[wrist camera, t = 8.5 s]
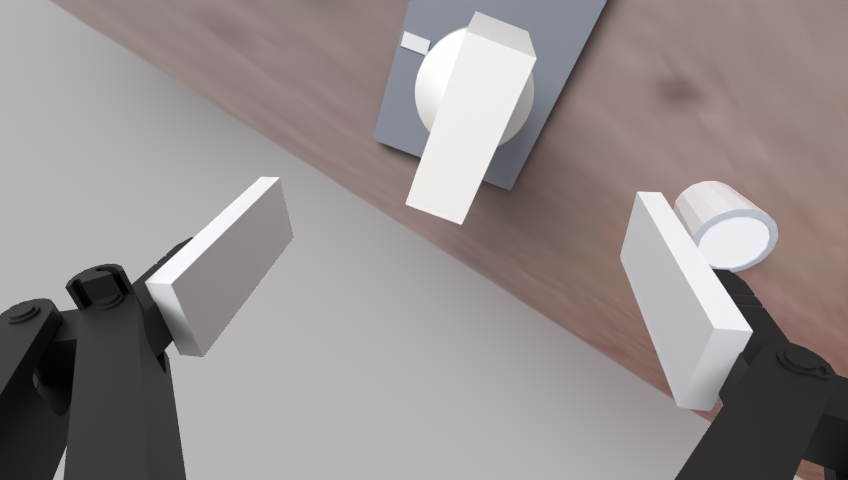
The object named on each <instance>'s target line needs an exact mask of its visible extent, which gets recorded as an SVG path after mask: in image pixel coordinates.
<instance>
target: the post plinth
mask: <svg viewBox="0 0 848 480" xmlns="http://www.w3.org/2000/svg"><path fill="white" fill-rule="evenodd" d="M606 1H607V0H410V1H409V5H408V8H407V12H406V16H405V19H404V23H403V27H402V31H401V34H400V38H399V42H398V45H397V49H396V53H395V57H394V60H393V64H392V68H391V71H390V75H389V79H388V82H387V86H386V90H385V94H384V97H383V101H382V105H381V108H380V112H379V116H378V120H377V123H376V127H375V131H374V134H373V138H372V139H373V140H375V141H378V142H381V143H383V144H386V145H389V146H391V147H394V148H397V149H399V150H402V151H405V152H407V153H410V154H413V155H415V156H418V157H421V158H422V155H423V152H424V150H425V147H426V144H427V141H428V138H429V135H430V132H429V131H428V129H427V128H426V127H425V125H424V124H423V122H422V120H421V118H420V116H419V113H418V110H417V106H416V101H415V84H416V79H417V75H418V72H419V69H420V67H421V65H422V63H423V61H424V59H425V58H426V56H427V55H428V54H429V52H430V51H431V50H432V48H433V47H434V46H435V45H436V44H437V43H438V41H439V40H440V39H442V38H443V37H444V36H445V35H447V34H448V33H450V32H451V31H453V30H456V29H458V28H460V27H464V26H467V25H469V23H470V22H471V20H472V18H473V16H474V14H475V12H476V11H477V12H480V13H482V14H485V15H487V16H490V17H492V18H495V19H497V20H500V21H503V22H505V23H508V24H510V25H513V26H515V27H518V28H521V29H523V30H526V31H528V33H529V36H530V39H531V42H532V45H533V48H534V51H535V55H536V58H537V59H536V61H535V63H534V65H533V68H532V70H531V71H532V75H533V81H534V99H533V104H532V108H531V111H530V113H529V116H528V118H527V120H526V121H525V123H524V125H523V126H522V127H521V129H520V130H519V131H518V132H517V133H516V134H515V135H514V136H513V137H512V138H511V139H509V140H508V141H507V142H505V143H503V144H502V145H500V146H498V147H497V148H496V150H495V152H494V154H493V156H492V159H491V161H490V163H489V165H488V168H487V170H486V172H485V174H484V176H483V179H482V181H485V182H488V183H490V184H493V185H496V186H498V187H501V188H504V189H506V190H509V191H511V189H512V187H513V185H514V183H515V181H516V179H517V177H518V175H519V173H520V171H521V169H522V167H523V165H524V163H525V161H526V159H527V157H528V155H529V153H530V151H531V149H532V147H533V145H534V143H535V141H536V139H537V137H538V136H539V134H540V132H541V130H542V128H543V126H544V124H545V122H546V120H547V118H548V116H549V114H550V112H551V110H552V108H553V106H554V104H555V102H556V100H557V98H558V96H559V94H560V92H561V90H562V88H563V86H564V84H565V82H566V80H567V78H568V76H569V74H570V72H571V70H572V68H573V66H574V64H575V62H576V60H577V58H578V56H579V55H580V53H581V51H582V49H583V47H584V45H585V43H586V41H587V39H588V37H589V35H590V33H591V31H592V29H593V27H594V25H595V23H596V21H597V19H598V17H599V15H600V13H601V11H602V9H603V7H604V5H605V3H606Z"/></svg>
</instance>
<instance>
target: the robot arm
mask: <svg viewBox="0 0 848 480" xmlns="http://www.w3.org/2000/svg"><path fill="white" fill-rule="evenodd" d="M292 238H293V233H292V229H291V225H290V220H289V216H288V211H287V207H286V203H285V199H284V194H283V190H282V185H281V181H280V177H261V178H259V179H258V180H257V181H256V182H255V183H254V184H253V185H252V186H251V187H249V188H248V189H247V190H246V191H245V192H244V193H243V194H242V195H241V196H240V197H239V198H237V199H236V200H235V201H234V202H233V203H232V204H231V205H230V206H229V207H227V208H226V209H225V210H224V211H223V212H222V213H221V214H220V215H219V216H217V217H216V218H215V219H214V220H213V221H212V222H211V223H210V224H209V225H207V226H206V227H205V228H204V229H203V230H202V231H201V232H200V233H199V234H197V235H196V236H195V237H191V238H189V239H187V240H186V241H184V242H182V243H180V244H178V245H176V246H175V247H174V248H173V249H172V250H171V251H169V252H168V253H167V254H166V257H165V256H164V257H163V258H162V259H160V260H159V261H158V262H157V264H155V265H154V266H152V267H151V268H150V269H149V270H148V271H147V272H146V273H145V274H143V275H142V276H141V277H140V278H139V279H138V280H137V281H135V282H134V283H133V284H132V285H131V283H130V281H129V279H128V277H127V275H126V273H125V271H124V269H123V268H122V266H120V265H117V264H104V265H99V266H95V267H92V268H90V269H87V270H84V271H83V272H81V273H79V274H77V275H75V276H74V277H73V278H72V279H71V280H69V282H68V283H67V285H66V289H67V291H68V292H69V294H70V296H71V297H72V299H73V300H74V302H75V304H76V305H77V307H78V309H75V310H68V311H60V312H59V311H58V309H57V308H56V306H55V304H54V303H53V302H52V301H51V300H50V299H45V298H43V299H33V300H30V301H25V302H21V303H19V304H18V305H17V304H16V305H14V306H12V307H11V308H10V309H8V310H6V311H5V312H3V313H2V314H1V315H0V480H53V477H54V475H55V473H56V470H57V468H58V465H59V463H60V460H61V458H62V455H63V453H64V450H65V448H66V446H67V450H66V460H65V471H64V480H186V475H185V468H184V461H183V455H182V447H181V440H180V433H179V426H178V419H177V412H176V405H175V398H174V391H173V384H172V378H171V370H170V363H169V358H168V356H167V354H166V352H165V349H166V347H168V345H169V344H170V343H171V342H172V341H174V343H175V346H176V347H177V350H178V352H179V354H180V355H189V356H198V357H204V355H205V354H206V353H207V351H208V350H209V349H210V347H211V346H212V345H213V343H214V342H215V341H216V339H217V338H218V337H219V335H220V334H221V332H222V331H223V330H224V329H225V327H226V326H227V325H228V324H229V322H230V321H231V319H232V318H233V317H234V316H235V314H236V313H237V312H238V310H239V309H240V308H241V306H242V305H243V304H244V302H245V301H246V300H247V298H248V297H249V296H250V294H251V293H252V292H253V290H254V289H255V288H256V286H257V285H258V284H259V282H260V281H261V279H262V278H263V277H264V276H265V274H266V273H267V271H268V270H269V269H270V268H271V266H272V265H273V264H274V262H275V261H276V260H277V258H278V257H279V256H280V254H281V253H282V252H283V250H284V249H285V248H286V246H287V245H288V244H289V243H290V241H291V240H292ZM620 258H621V261H622V264H623V266H624V269H625V271H626V274H627V277H628V279H629V282H630V284H631V287H632V290H633V292H634V295H635V297H636V300H637V303H638V305H639V308H640V310H641V313H642V316H643V318H644V321H645V323H646V326H647V329H648V331H649V334H650V336H651V339H652V342H653V344H654V347H655V349H656V352H657V355H658V357H659V360H660V362H661V365H662V367H663V370H664V373H665V375H666V378H667V380H668V383H669V386H670V388H671V391H672V393H673V396H674V399H675V401H676V404H677V406H678V408H685V409H694V410H703V411H711V410H712V408H713V406H714V405H715V403H716V401H717V399H718V397H719V396H720V398H721V400H722V402H723V404H724V406H723V407H722V409H721V410H720V412H719V413H718V415H717V416H716V418H715V419H714V421H713V422H712V424H711V425H710V427H709V428H708V430H707V431H706V433H705V434H704V436H703V437H702V439H701V440H700V442H699V443H698V445H697V446H696V448H695V450H694V451H693V453H692V454H691V456H690V457H689V459H688V460H687V462H686V463H685V465H684V466H683V468H682V469H681V471H680V472H679V474H678V475H677V477H676V478H675V480H793V478H794V476H795V474H796V471H797V469H798V467H799V465H800V462H801V460H802V459H804V460H807V461H810V462H812V463H815V464H818V465H821V466H823V467H824V475H825V480H848V378H845V377H842V376H839V375H836V373H835V372H834V370H833V369H832V367H831V366H830V364H829V363H827V362H826V361H825V360H824V359H823V358H822V357H820V356H819V355H817V354H816V353H814V352H812V351H810V350H808V349H807V348H804V347H801V346H799V345H796V344H793V343H790V342H789V340H788V339H787V338H786V336H785V335H784V334H783V332H782V331H781V330H780V328H779V327H778V326H777V324H776V323H775V322H774V320H773V319H772V317H771V316H770V315H769V313H768V312H767V311H766V309H765V308H762V304H761V303H760V301H759V300H758V299H757V297H754V293H753V292H752V291H751V289H750V288H749V286H748V285H747V284H746V282H745V281H743V280H742V279H741V278H739V277H738V276H736V275H735V274H734V273H732V272H731V271H730V270H724V269H711V267H710V266H709V264H708V263H707V261H706V260H705V258H704V257H703V255H702V254H701V252H700V251H699V249H698V248H697V246H696V245H695V243H694V242H693V240H692V239H691V237H690V236H689V234H688V233H687V231H686V230H685V228H684V227H683V225H682V224H681V222H680V221H679V219H678V218H677V216H676V215H675V213H674V212H673V210H672V209H671V207H670V206H669V204H668V202H667V201H666V199H665V198H664V196H663V195H662V193H660V192H637V194H636V198H635V202H634V206H633V209H632V213H631V217H630V221H629V224H628V228H627V232H626V236H625V240H624V243H623V247H622V251H621V255H620Z"/></svg>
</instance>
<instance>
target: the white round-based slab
mask: <svg viewBox="0 0 848 480" xmlns="http://www.w3.org/2000/svg"><path fill="white" fill-rule="evenodd" d="M536 59H537V58H536V55H535V51H534V48H533V45H532V42H531V39H530V36H529V33H528V31H526V30H523V29H521V28H518V27H515V26H513V25H510V24H508V23H505V22H503V21H500V20H497V19H495V18H492V17H490V16H487V15H485V14H482V13H480V12H477V11H476V12H475V14H474V16H473V18H472V20H471V22H470V23H469V25H467V26H464V27H460V28H458V29H456V30H453V31H451V32H450V33H448V34H447V35H445V36H444V37H443V38H442V39H440V40H439V41H438V43H437V44H436V45H435V46H434V47H433V48H432V50H431V51H430V52H429V54H428V55H427V56H426V58H425V59H424V61H423V63H422V65H421V67H420V69H419V72H418V75H417V79H416V84H415V101H416V106H417V110H418V113H419V116H420V118H421V120H422V122H423V124H424V125H425V127H426V128H427V129H428V131H429V132H430V135H429V138H428V141H427V144H426V147H425V150H424V152H423V155H422V158H421V161H420V164H419V167H418V170H417V173H416V176H415V178H414V181H413V184H412V187H411V190H410V193H409V196H408V199H407V201H406V205H409V206H411V207H414V208H417V209H420V210H422V211H425V212H428V213H431V214H433V215H436V216H439V217H441V218H444V219H447V220H450V221H452V222H455V223H458V224H461V225H462V223H463V221H464V219H465V216H466V214H467V212H468V210H469V207H470V205H471V203H472V201H473V199H474V196H475V194H476V192H477V190H478V188H479V185H480V183H481V181H482V179H483V176H484V174H485V172H486V170H487V168H488V165H489V163H490V161H491V159H492V156H493V154H494V152H495V150H496V148H497V147H498V146H500V145H502V144H503V143H505V142H507V141H508V140H509V139H511V138H512V137H513V136H514V135H515V134H516V133H517V132H518V131H519V130H520V129H521V127H522V126H523V125H524V123H525V121H526V120H527V118H528V116H529V113H530V111H531V108H532V104H533V99H534V81H533V75H532V71H531V70H532V68H533V65H534V63H535V61H536Z"/></svg>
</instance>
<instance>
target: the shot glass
mask: <svg viewBox="0 0 848 480" xmlns="http://www.w3.org/2000/svg"><path fill="white" fill-rule="evenodd" d="M673 212H674V213H675V215H676V216H677V218H678V219H679V221H680V222H681V224H682V225H683V227H684V228H685V230H686V231H687V233H688V234H689V236H690V237H691V239H692V240H693V242H694V243H695V245H696V246H697V248H698V249H699V251H700V252H701V254H702V255H703V257H704V258H705V260H706V261H707V263H708V264H709V266H710V267H711V269H724V270H730V271H731V272H732V273H733V272H737V271H740V270H744V269H748V268H750V267H751V266H753V265H755V264H757V263H759V262H760V261H762V260H763V259H764V258H765V257H766V256H767V255H768V254H769V253H770V252H771V251H772V250H773V249H774V246H775V244H776V241H777V239H778V230H777V224H776V223H775V222H774V221H773V220H772V218H771V217H770V216H769V215H768V214H767V213H765V212H764V211H762V210H761V209H760V208H758V207H757V206H756V205H754V204H753V203H751V202H750V201H749V200H747V199H746V198H745V197H743V196H742V195H740V194H739V193H738V192H736V191H735V190H734V189H732V188H731V187H729V186H728V185H726V184H724V183H721V182H718V181H704V182H701V183H698V184H695V185H692V186H691V187H689V188H688V189H686V190H685V191H683V192H682V193H681V194H680V196H679V197H678V198H677V200H676V201H675V205H674V209H673Z"/></svg>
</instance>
